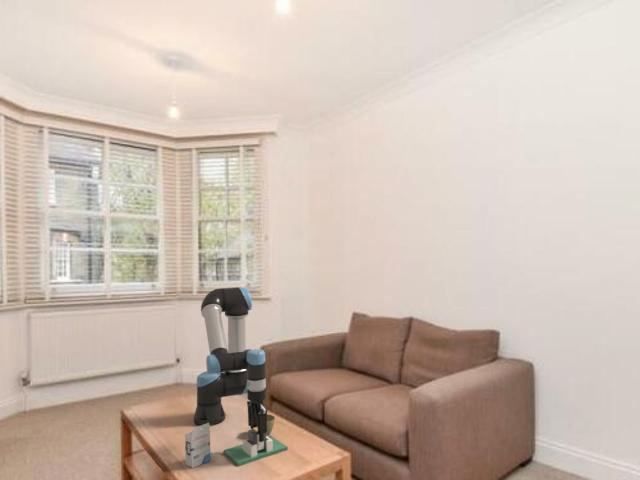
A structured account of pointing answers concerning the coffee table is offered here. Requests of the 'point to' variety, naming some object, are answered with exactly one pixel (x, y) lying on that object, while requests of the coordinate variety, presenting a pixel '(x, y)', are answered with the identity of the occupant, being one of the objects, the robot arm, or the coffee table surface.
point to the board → (253, 451)
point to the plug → (255, 437)
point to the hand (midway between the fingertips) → (257, 447)
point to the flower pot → (270, 423)
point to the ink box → (197, 446)
